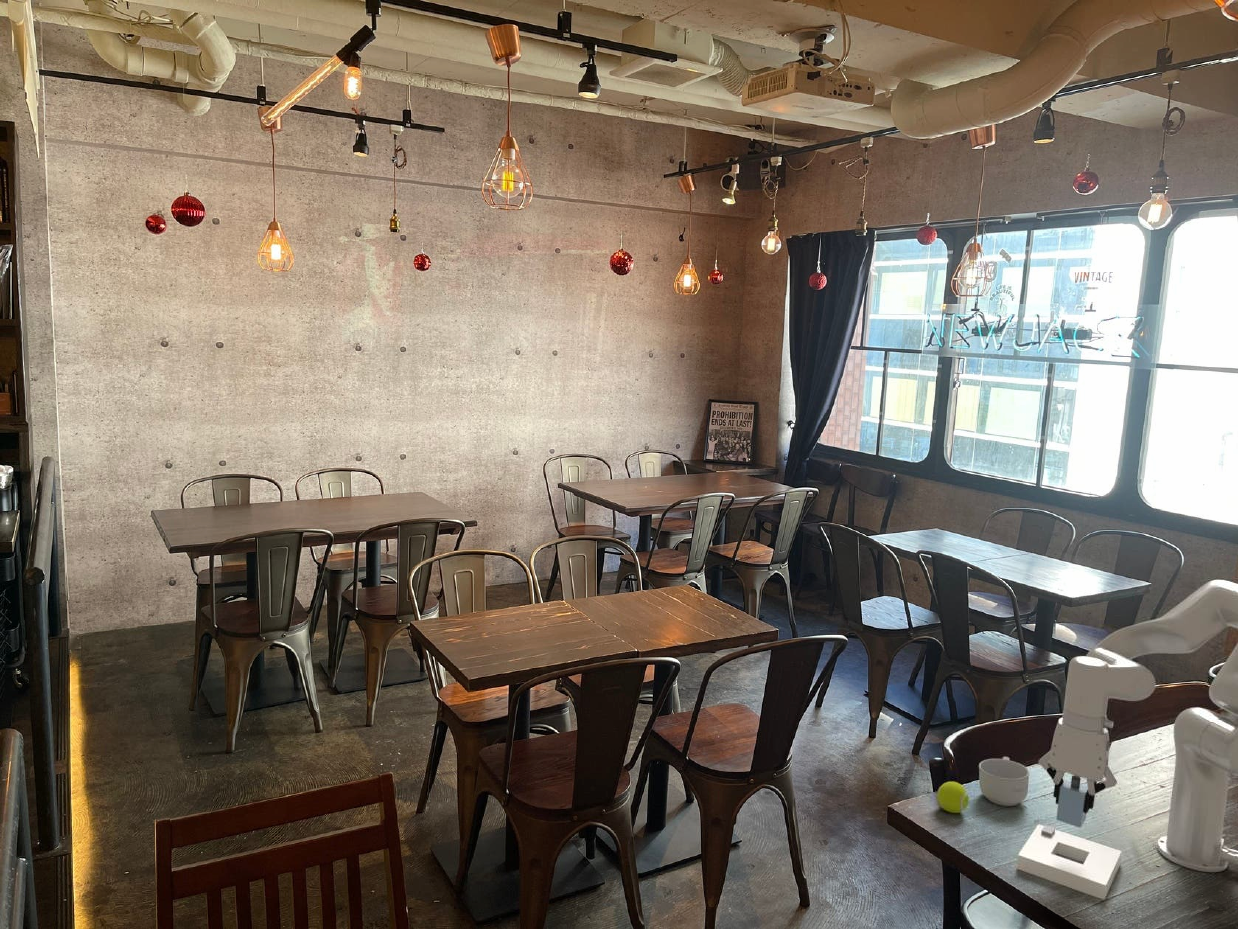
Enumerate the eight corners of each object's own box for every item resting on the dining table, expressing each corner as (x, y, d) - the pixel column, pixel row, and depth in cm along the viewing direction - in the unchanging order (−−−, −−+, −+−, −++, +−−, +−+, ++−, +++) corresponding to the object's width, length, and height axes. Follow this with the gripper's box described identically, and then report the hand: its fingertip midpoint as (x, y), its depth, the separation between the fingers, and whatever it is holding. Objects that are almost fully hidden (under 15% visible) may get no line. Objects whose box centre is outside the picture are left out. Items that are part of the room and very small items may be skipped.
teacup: (1019, 816, 207) (1022, 782, 206) (970, 801, 214) (973, 768, 213) (1034, 794, 218) (1037, 762, 217) (987, 779, 225) (990, 748, 224)
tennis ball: (942, 801, 213) (945, 773, 212) (971, 811, 209) (974, 783, 208) (931, 811, 208) (933, 783, 207) (961, 822, 204) (963, 793, 203)
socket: (1120, 865, 188) (1122, 847, 188) (1104, 900, 176) (1106, 881, 175) (1037, 837, 198) (1038, 820, 198) (1016, 868, 186) (1018, 851, 185)
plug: (1085, 820, 186) (1090, 777, 185) (1080, 828, 182) (1086, 784, 181) (1061, 812, 189) (1066, 770, 188) (1056, 819, 185) (1061, 777, 184)
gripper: (1134, 726, 181) (1122, 814, 183) (1043, 702, 191) (1033, 786, 193) (1127, 738, 175) (1115, 828, 177) (1033, 712, 185) (1023, 798, 187)
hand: (1072, 805), depth 185 cm, fingers closed on plug, 4 cm apart
